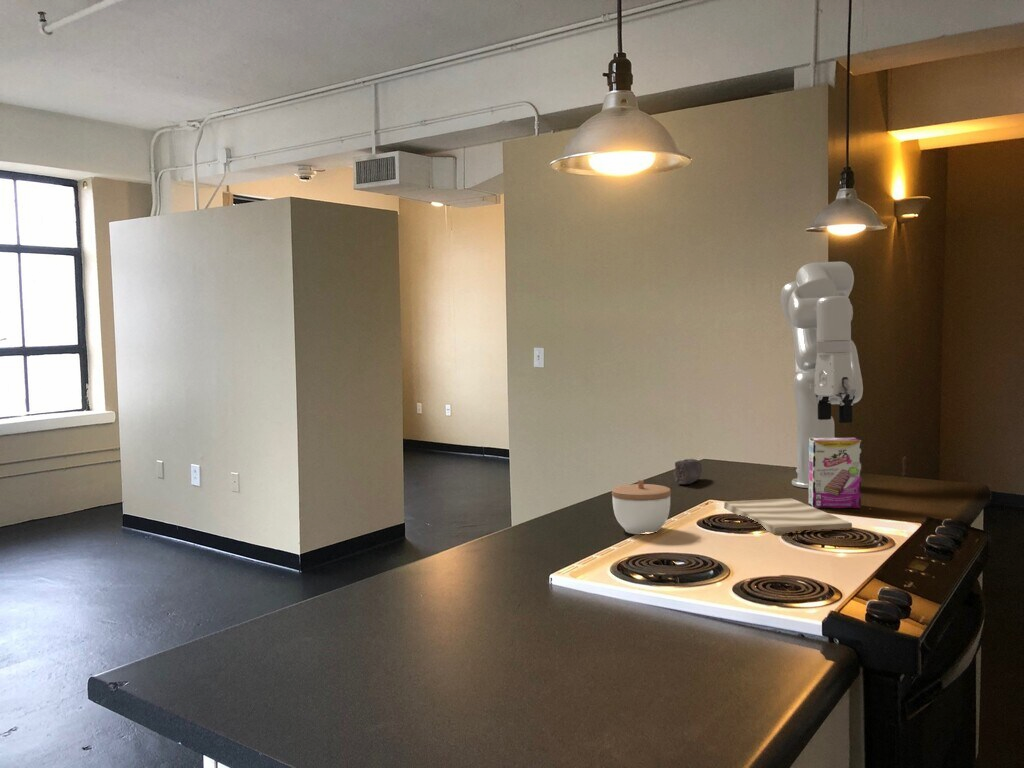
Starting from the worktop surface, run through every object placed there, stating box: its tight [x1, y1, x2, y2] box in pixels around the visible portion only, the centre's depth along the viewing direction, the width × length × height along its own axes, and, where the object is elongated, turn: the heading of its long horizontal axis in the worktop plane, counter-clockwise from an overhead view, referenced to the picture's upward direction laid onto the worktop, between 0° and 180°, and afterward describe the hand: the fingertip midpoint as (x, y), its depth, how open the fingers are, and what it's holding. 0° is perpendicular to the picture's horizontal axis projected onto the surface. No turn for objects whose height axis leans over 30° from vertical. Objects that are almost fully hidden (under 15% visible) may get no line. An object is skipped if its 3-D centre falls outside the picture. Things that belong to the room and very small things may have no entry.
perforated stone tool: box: [673, 458, 703, 485], centre depth 235 cm, size 15×5×7 cm, turn 143°
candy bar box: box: [808, 437, 862, 509], centre depth 197 cm, size 11×5×16 cm, turn 84°
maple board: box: [723, 497, 853, 536], centre depth 187 cm, size 28×17×2 cm, turn 7°
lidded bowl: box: [611, 479, 672, 535], centre depth 178 cm, size 13×13×11 cm
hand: (834, 421), depth 196 cm, fingers open, 9 cm apart
